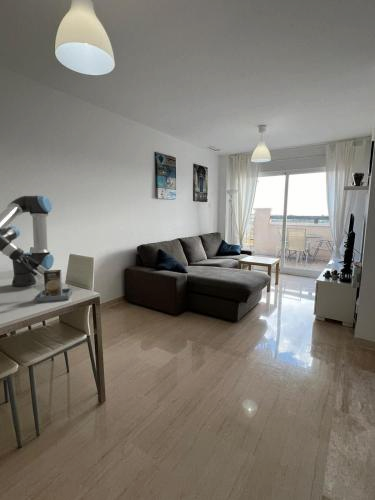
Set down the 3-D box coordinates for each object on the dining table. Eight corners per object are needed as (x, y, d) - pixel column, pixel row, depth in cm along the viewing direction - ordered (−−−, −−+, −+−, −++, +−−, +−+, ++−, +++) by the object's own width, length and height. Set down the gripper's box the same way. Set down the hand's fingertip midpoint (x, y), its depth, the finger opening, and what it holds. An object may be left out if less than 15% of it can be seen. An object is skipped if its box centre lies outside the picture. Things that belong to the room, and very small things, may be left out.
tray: (41, 295, 165) (41, 290, 164) (72, 292, 170) (71, 288, 169) (34, 303, 150) (34, 298, 149) (68, 300, 155) (68, 295, 154)
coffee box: (45, 298, 155) (42, 272, 153) (47, 295, 161) (44, 270, 159) (61, 297, 158) (59, 271, 156) (63, 294, 164) (61, 269, 162)
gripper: (15, 253, 160) (44, 275, 167) (0, 260, 137) (34, 285, 143) (24, 244, 161) (52, 266, 168) (10, 250, 138) (44, 275, 144)
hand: (44, 275), depth 156 cm, fingers open, 13 cm apart
